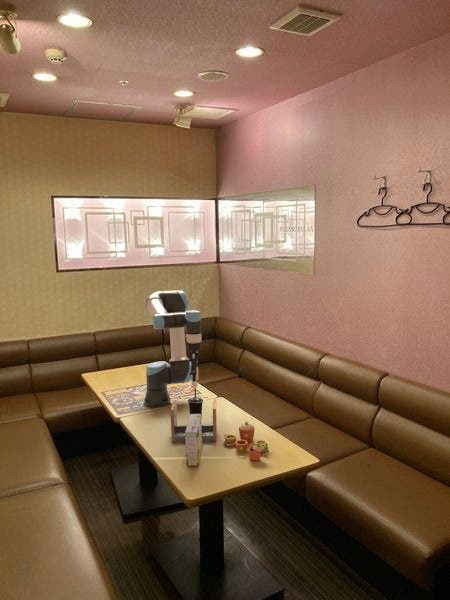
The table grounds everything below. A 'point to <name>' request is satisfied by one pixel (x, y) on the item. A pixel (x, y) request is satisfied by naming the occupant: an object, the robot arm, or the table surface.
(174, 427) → the two-post stand
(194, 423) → the snack box
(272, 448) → the table surface
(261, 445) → the toy tea set
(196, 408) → the drinking cup
